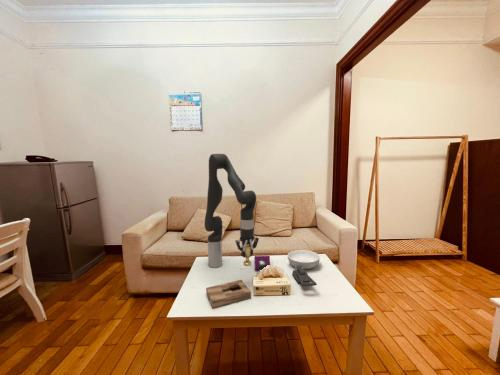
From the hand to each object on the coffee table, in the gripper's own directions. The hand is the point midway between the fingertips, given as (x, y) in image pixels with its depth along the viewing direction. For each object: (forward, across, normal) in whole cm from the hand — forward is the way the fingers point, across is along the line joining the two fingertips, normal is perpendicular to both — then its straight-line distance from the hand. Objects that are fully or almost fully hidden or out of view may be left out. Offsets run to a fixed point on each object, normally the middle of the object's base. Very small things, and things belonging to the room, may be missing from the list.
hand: (247, 256), depth 132 cm
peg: (+5, 0, 0) cm, 5 cm away
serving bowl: (+17, -43, -6) cm, 46 cm away
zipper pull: (+17, -29, +13) cm, 36 cm away
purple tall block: (+17, -18, -18) cm, 31 cm away
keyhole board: (+16, +14, +7) cm, 23 cm away
